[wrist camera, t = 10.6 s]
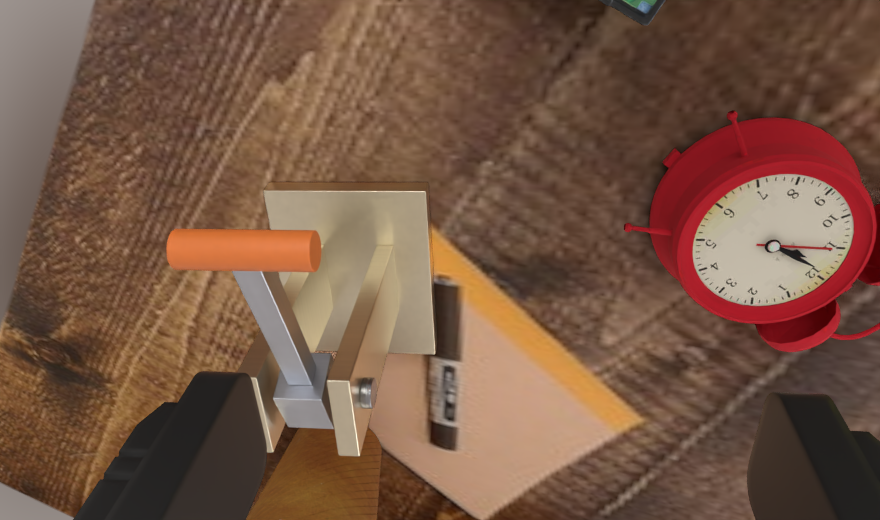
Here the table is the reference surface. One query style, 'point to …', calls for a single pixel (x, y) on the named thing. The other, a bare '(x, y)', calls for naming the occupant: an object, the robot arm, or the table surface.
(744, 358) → the table surface
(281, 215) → the bracket
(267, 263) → the lever
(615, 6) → the disk drive
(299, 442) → the disposable coffee cup
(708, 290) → the alarm clock
